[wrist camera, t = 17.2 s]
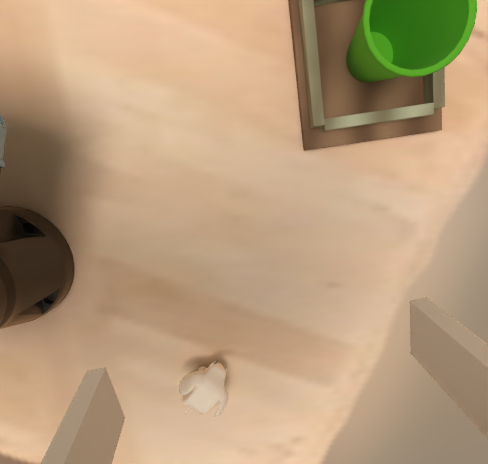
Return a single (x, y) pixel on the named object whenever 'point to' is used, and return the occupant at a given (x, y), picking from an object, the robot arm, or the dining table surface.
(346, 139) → the jig cradle
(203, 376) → the elephant figurine
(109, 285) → the dining table surface
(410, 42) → the cup
